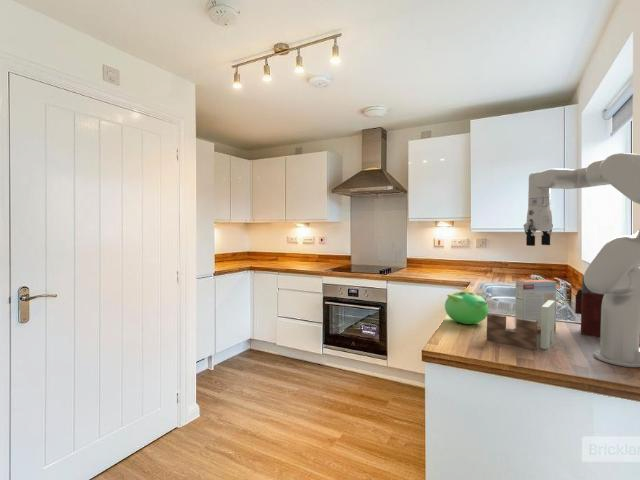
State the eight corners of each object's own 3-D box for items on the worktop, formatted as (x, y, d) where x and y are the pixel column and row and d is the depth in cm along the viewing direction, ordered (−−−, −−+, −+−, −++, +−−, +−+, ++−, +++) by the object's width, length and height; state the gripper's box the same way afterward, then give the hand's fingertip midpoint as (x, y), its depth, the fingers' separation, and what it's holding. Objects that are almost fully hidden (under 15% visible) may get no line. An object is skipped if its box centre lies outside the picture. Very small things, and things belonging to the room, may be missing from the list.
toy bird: (487, 320, 158) (488, 288, 158) (488, 331, 143) (489, 295, 142) (446, 316, 166) (446, 286, 165) (443, 325, 150) (443, 292, 150)
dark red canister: (575, 328, 147) (577, 262, 145) (609, 333, 139) (612, 264, 138) (573, 333, 140) (575, 264, 138) (609, 339, 132) (612, 266, 131)
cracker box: (546, 327, 147) (547, 279, 147) (556, 331, 141) (557, 281, 141) (514, 328, 147) (515, 279, 146) (522, 332, 141) (524, 281, 140)
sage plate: (553, 339, 132) (554, 300, 132) (547, 349, 122) (548, 307, 121) (547, 338, 134) (548, 300, 133) (540, 347, 123) (541, 306, 123)
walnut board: (536, 348, 123) (537, 320, 123) (535, 350, 121) (535, 322, 121) (488, 338, 134) (489, 312, 133) (486, 340, 132) (487, 314, 131)
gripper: (534, 201, 132) (534, 246, 133) (561, 203, 140) (560, 245, 140) (516, 203, 139) (515, 245, 140) (542, 204, 146) (542, 244, 147)
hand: (538, 245), depth 140 cm, fingers open, 9 cm apart
